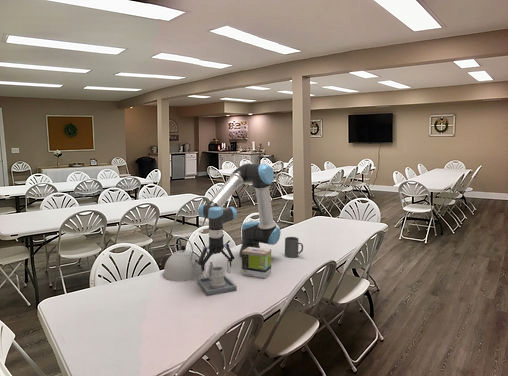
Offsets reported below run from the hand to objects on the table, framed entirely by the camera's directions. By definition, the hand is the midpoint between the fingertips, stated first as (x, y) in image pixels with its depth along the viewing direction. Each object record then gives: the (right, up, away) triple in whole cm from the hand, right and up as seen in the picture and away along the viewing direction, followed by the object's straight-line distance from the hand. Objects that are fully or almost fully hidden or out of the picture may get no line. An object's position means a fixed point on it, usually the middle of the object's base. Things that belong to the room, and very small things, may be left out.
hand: (216, 274), depth 206 cm
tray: (0, -7, +1) cm, 7 cm away
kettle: (-20, -4, +19) cm, 28 cm away
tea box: (+22, -4, +20) cm, 30 cm away
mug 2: (+47, 0, +52) cm, 70 cm away
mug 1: (-1, -6, 0) cm, 6 cm away
